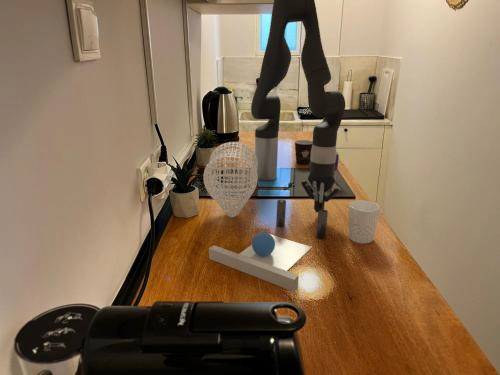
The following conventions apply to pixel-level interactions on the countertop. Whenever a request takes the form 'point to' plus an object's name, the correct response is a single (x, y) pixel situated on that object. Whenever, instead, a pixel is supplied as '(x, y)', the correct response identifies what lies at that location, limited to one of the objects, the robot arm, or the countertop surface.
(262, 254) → the ball
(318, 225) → the right post
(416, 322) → the countertop surface
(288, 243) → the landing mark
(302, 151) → the coffee mug
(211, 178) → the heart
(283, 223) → the left post
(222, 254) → the stopper wall
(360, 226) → the white cup
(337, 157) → the energy drink
